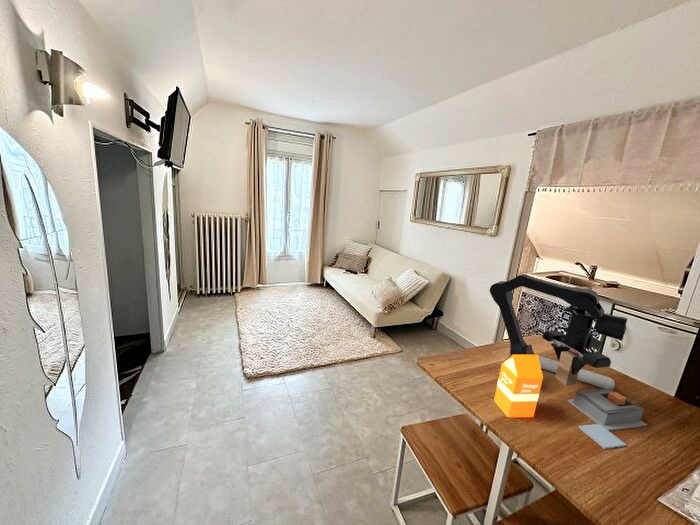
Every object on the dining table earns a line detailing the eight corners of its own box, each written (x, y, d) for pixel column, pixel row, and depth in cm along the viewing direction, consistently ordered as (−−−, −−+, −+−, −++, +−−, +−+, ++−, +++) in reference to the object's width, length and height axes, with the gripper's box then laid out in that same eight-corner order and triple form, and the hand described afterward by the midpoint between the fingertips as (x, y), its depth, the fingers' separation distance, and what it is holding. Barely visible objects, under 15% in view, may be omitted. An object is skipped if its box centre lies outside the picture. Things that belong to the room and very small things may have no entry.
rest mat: (604, 449, 78) (605, 447, 78) (578, 427, 85) (578, 425, 85) (625, 446, 79) (626, 444, 79) (598, 425, 87) (598, 423, 86)
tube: (614, 377, 106) (537, 353, 120) (618, 380, 102) (538, 355, 115) (611, 391, 106) (534, 366, 119) (615, 394, 101) (535, 368, 115)
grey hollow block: (607, 431, 84) (611, 417, 83) (567, 400, 97) (570, 388, 96) (646, 426, 87) (651, 412, 86) (603, 397, 100) (606, 385, 99)
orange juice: (493, 400, 95) (504, 348, 90) (517, 400, 96) (529, 348, 91) (508, 418, 87) (520, 361, 83) (534, 417, 88) (547, 361, 84)
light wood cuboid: (565, 385, 91) (572, 358, 89) (554, 377, 95) (561, 351, 93) (575, 384, 92) (582, 357, 90) (564, 376, 96) (571, 350, 94)
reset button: (616, 405, 90) (618, 399, 90) (607, 398, 93) (608, 392, 92) (624, 404, 91) (626, 398, 90) (614, 398, 93) (616, 392, 93)
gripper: (632, 341, 82) (617, 387, 85) (572, 315, 100) (562, 354, 103) (601, 342, 80) (588, 389, 83) (546, 316, 98) (536, 355, 101)
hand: (567, 370), depth 93 cm, fingers closed on light wood cuboid, 4 cm apart
